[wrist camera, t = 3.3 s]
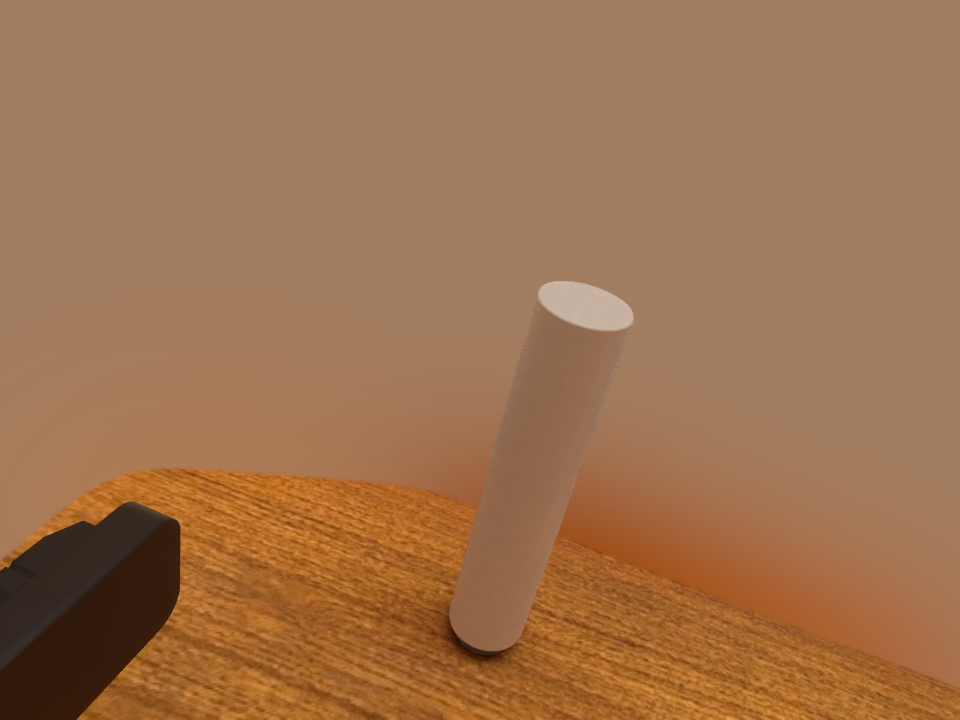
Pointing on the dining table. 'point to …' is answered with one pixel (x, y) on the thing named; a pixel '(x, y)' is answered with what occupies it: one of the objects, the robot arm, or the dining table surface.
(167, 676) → the dining table surface
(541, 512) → the white cylindrical rod
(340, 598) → the dining table surface
